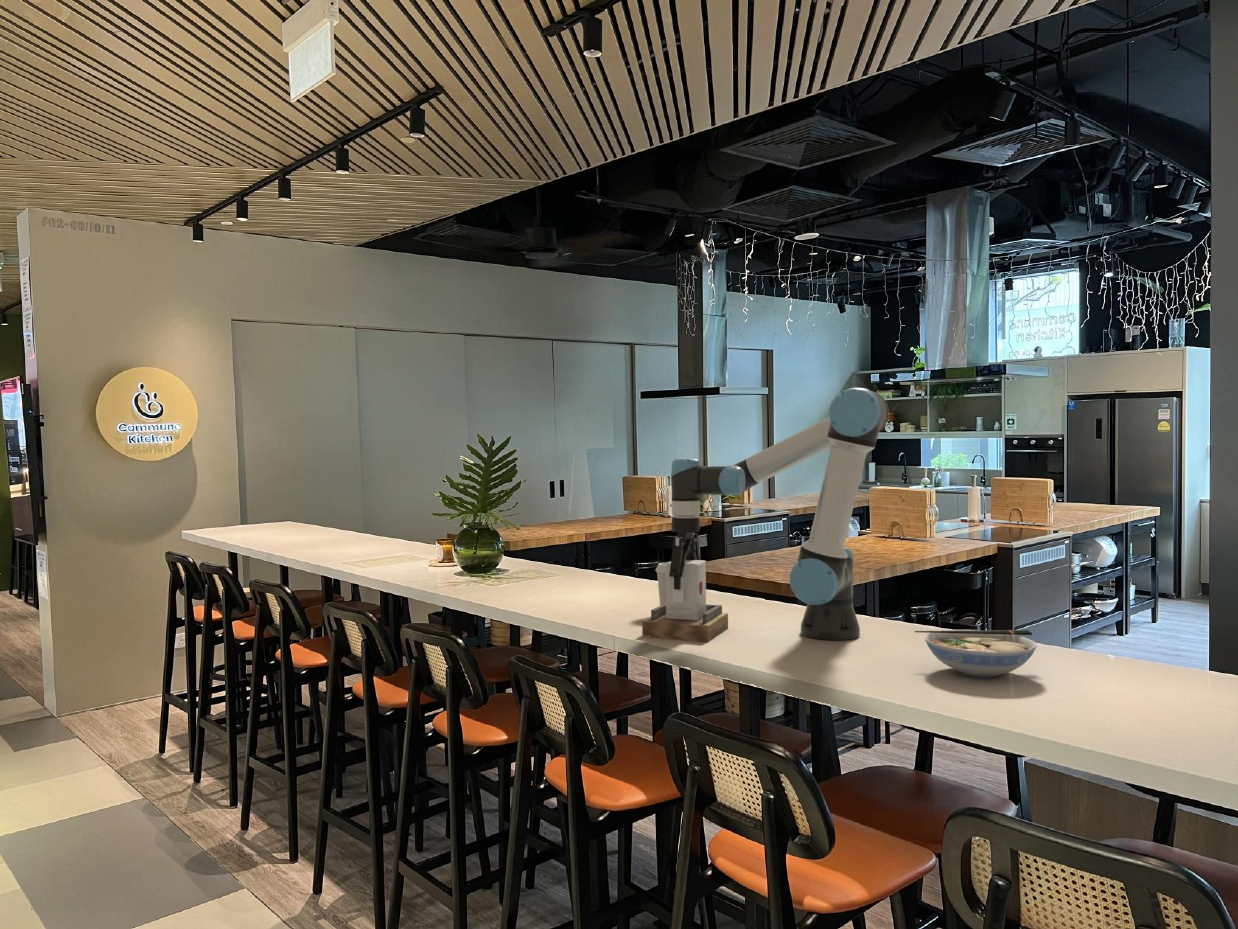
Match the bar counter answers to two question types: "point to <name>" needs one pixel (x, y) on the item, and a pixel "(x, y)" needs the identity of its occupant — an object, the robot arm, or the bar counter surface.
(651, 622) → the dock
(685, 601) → the supplement box
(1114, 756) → the bar counter surface
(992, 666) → the ramen bowl
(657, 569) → the coffee cup
